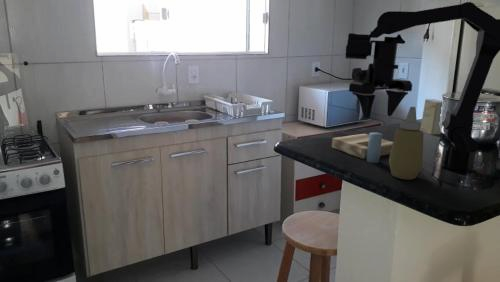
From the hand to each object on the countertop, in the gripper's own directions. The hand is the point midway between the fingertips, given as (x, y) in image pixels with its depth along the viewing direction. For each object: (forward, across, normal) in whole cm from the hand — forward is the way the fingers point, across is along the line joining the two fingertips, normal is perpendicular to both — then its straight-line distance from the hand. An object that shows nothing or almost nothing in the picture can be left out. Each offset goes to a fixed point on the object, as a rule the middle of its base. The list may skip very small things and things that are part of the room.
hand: (377, 117), depth 116 cm
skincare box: (+13, -46, -16) cm, 50 cm away
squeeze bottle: (+13, +3, +14) cm, 19 cm away
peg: (+13, +1, +1) cm, 13 cm away
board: (+13, -5, -9) cm, 16 cm away
